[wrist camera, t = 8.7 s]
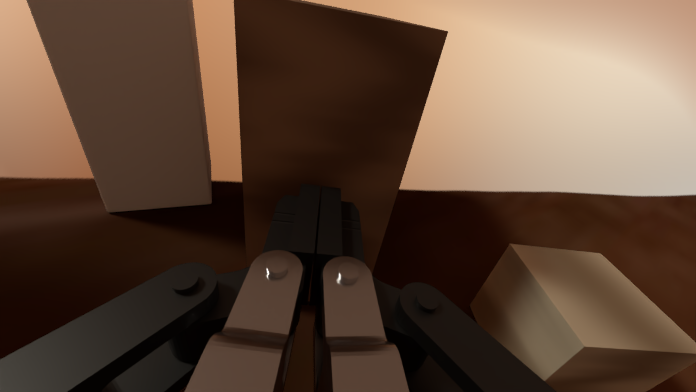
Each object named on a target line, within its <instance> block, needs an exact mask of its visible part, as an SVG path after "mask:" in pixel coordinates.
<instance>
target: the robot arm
mask: <svg viewBox="0 0 696 392" xmlns="http://www.w3.org/2000/svg"><path fill="white" fill-rule="evenodd" d="M319 195H320V186H318V185H310V184H302V183H301V187H300V192H299V196H291V195H285V196H284V197H283V198H281V199H280V200H279V201H278V202H277V205H276V208H275V212H274V215H273V218H272V222H271V225H270V228H269V232H268V235H267V238H266V242H265V245H264V248H263V252H262V254H261V255H260V256H258V257H257V258H256V259H255V260H254V261H253V263H252V264H251V266H249V267H247V268H245V269H242V270H239V271H235V272H229V273H224V274H218V275H216V273H215V271H214V270H213V269H212V268H211V267H210V266H208V265H205V264H202V263H185V264H181V265H178V266H175V267H173V268H171V269H169V270H167V271H165V272H163V273H161V274H159V275H158V276H156V277H154V278H152V279H150V280H148V281H146V282H144V283H143V284H141V285H139V286H137V287H135V288H133V289H131V290H129V291H128V292H126V293H124V294H122V295H120V296H118V297H116V298H114V299H113V300H111V301H109V302H107V303H105V304H103V305H101V306H99V307H98V308H96V309H94V310H92V311H90V312H88V313H86V314H84V315H83V316H81V317H79V318H77V319H75V320H73V321H71V322H69V323H68V324H66V325H64V326H62V327H60V328H58V329H56V330H54V331H53V332H51V333H49V334H47V335H45V336H43V337H41V338H39V339H38V340H36V341H34V342H32V343H30V344H28V345H26V346H24V347H23V348H21V349H19V350H17V351H15V352H13V353H11V354H9V355H8V356H6V357H4V358H2V359H0V392H179V391H180V390H181V389H183V388H184V387H185V386H186V385H187V384H188V385H187V388H186V390H185V392H283V391H284V386H285V381H286V376H287V371H288V366H289V361H290V356H291V352H292V347H293V342H294V337H295V332H296V326H297V325H298V322H299V319H300V310H301V305H307V302H308V295H309V288H310V281H311V291H310V302H309V305H315V306H316V313H315V322H314V328H313V361H314V392H556V391H555V390H554V389H553V388H552V387H551V386H549V385H548V384H547V383H546V382H545V381H544V380H542V379H541V378H540V377H539V376H538V375H537V374H535V373H534V372H533V371H532V370H531V369H530V368H528V367H527V366H526V365H525V364H524V363H523V362H522V361H520V360H519V359H518V358H517V357H516V356H515V355H513V354H512V353H511V352H510V351H509V350H508V349H506V348H505V347H504V346H503V345H502V344H501V343H499V342H498V341H497V340H496V339H495V338H494V337H492V336H491V335H490V334H489V333H488V332H487V331H485V330H484V329H483V328H482V327H481V326H480V325H478V324H477V323H476V322H475V321H474V320H473V319H471V318H470V317H469V316H468V315H467V314H466V313H464V312H463V311H462V310H461V309H460V308H459V307H457V306H456V305H455V304H454V303H453V302H452V301H450V300H449V299H448V298H447V297H446V296H445V295H443V294H442V293H441V292H440V291H439V290H437V289H436V288H434V287H433V286H430V285H428V284H425V283H420V282H414V283H410V284H407V285H406V286H405V287H403V289H402V290H401V289H399V288H396V287H393V286H390V285H388V284H385V283H383V282H381V281H379V280H378V279H376V278H375V277H374V276H373V275H372V274H371V272H370V270H369V268H368V267H367V266H366V265H365V260H364V251H363V242H362V233H361V224H360V215H359V211H358V209H357V208H356V206H355V205H354V204H353V203H352V202H344V201H341V188H335V187H327V186H322V188H321V196H320V203H319ZM318 206H319V210H318ZM317 217H318V218H317ZM312 266H313V269H312ZM311 274H312V280H311Z"/></svg>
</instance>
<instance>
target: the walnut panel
mask: <svg viewBox="0 0 696 392" xmlns="http://www.w3.org/2000/svg"><path fill="white" fill-rule="evenodd" d="M234 12H235V13H234V14H235V34H236V54H237V75H238V95H239V96H238V97H239V118H240V136H241V137H240V139H241V159H242V181H243V202H244V223H245V243H246V264H247V267H249V266H251V264H252V263H253V261H254V260H255V259H256V258H257V257H258V256H260V255H261V254H262V252H263V248H264V245H265V242H266V238H267V235H268V232H269V228H270V225H271V222H272V218H273V215H274V212H275V208H276V205H277V202H278V201H279V200H280V199H281V198H283V197H284V196H285V195H291V196H299V192H300V187H301V183H302V184H310V185H318V186H320V195H319V203H320V196H321V188H322V186H327V187H335V188H341V201H344V202H352V203H353V204H354V205H355V206H356V208H357V209H358V211H359V215H360V224H361V233H362V242H363V251H364V260H365V265H366V266H367V267H368V268H369V270H370V272H371V274H372V273H373V270H374V267H375V263H376V260H377V257H378V254H379V251H380V247H381V244H382V241H383V238H384V235H385V231H386V228H387V225H388V222H389V219H390V215H391V212H392V209H393V206H394V203H395V199H396V196H397V193H398V190H399V187H400V183H401V180H402V177H403V174H404V171H405V168H406V164H407V161H408V158H409V155H410V152H411V148H412V145H413V142H414V138H415V135H416V132H417V129H418V126H419V123H420V120H421V116H422V113H423V110H424V106H425V104H426V100H427V97H428V94H429V91H430V88H431V84H432V81H433V78H434V75H435V72H436V68H437V65H438V62H439V59H440V55H441V52H442V49H443V46H444V43H445V40H446V37H447V33H448V31H443V30H439V29H435V28H430V27H426V26H422V25H417V24H412V23H408V22H404V21H400V20H395V19H391V18H387V17H382V16H377V15H372V14H367V13H362V12H357V11H352V10H347V9H341V8H337V7H332V6H327V5H322V4H316V3H311V2H307V1H301V0H234ZM318 210H319V206H318ZM317 218H318V217H317ZM312 269H313V266H312ZM311 280H312V274H311ZM310 291H311V281H310V288H309V295H308V301H310Z"/></svg>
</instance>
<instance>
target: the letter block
mask: <svg viewBox="0 0 696 392" xmlns="http://www.w3.org/2000/svg"><path fill="white" fill-rule="evenodd" d="M470 308H471V310H472V312H473V314H474V317H475V319H476V321H477V323H478V325H480V326H481V327H482V328H483V329H484V330H485V331H487V332H488V333H489V334H490V335H491V336H492V337H494V338H495V339H496V340H497V341H498V342H499V343H501V344H502V345H503V346H504V347H505V348H506V349H508V350H509V351H510V352H511V353H512V354H513V355H515V356H516V357H517V358H518V359H519V360H520V361H522V362H523V363H524V364H525V365H526V366H527V367H528V368H530V369H531V370H532V371H533V372H534V373H535V374H537V375H538V376H539V377H540V378H541V379H542V380H544V381H545V382H546V383H547V384H548V385H549V386H551V387H552V388H553V389H554V390H555V391H556V392H646V391H648V390H650V389H651V388H653V387H655V386H656V385H658V384H660V383H661V382H663V381H665V380H666V379H668V378H670V377H671V376H673V375H675V374H676V373H678V372H680V371H681V370H683V369H685V368H686V367H688V366H690V365H691V364H693V363H695V362H696V343H695V342H694V341H693V340H692V339H691V338H690V337H689V336H688V335H687V334H686V333H685V332H684V331H683V330H681V329H680V328H679V327H678V326H677V325H676V324H675V323H674V322H673V321H672V320H671V319H670V318H669V317H668V316H667V315H666V314H664V313H663V312H662V311H661V310H660V309H659V308H658V307H657V306H656V305H655V304H654V303H653V302H652V301H651V300H650V299H648V298H647V297H646V296H645V295H644V294H643V293H642V292H641V291H640V290H639V289H638V288H637V287H636V286H635V285H634V284H633V283H631V282H630V281H629V280H628V279H627V278H626V277H625V276H624V275H623V274H622V273H621V272H620V271H619V270H618V269H617V268H615V267H614V266H613V265H612V264H611V263H610V262H609V261H608V260H607V259H606V258H605V257H604V256H603V255H602V254H600V253H591V252H582V251H572V250H563V249H554V248H545V247H535V246H526V245H517V244H509V246H508V247H507V249H506V250H505V252H504V254H503V255H502V257H501V258H500V260H499V261H498V263H497V264H496V266H495V267H494V269H493V270H492V272H491V273H490V275H489V277H488V278H487V280H486V281H485V283H484V284H483V286H482V287H481V289H480V290H479V292H478V293H477V295H476V296H475V298H474V300H473V301H472V303H471V304H470Z"/></svg>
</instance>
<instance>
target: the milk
mask: <svg viewBox="0 0 696 392" xmlns="http://www.w3.org/2000/svg"><path fill="white" fill-rule="evenodd" d="M27 3H28V5H29V8H30V10H31V13H32V16H33V18H34V21H35V24H36V26H37V29H38V32H39V34H40V37H41V39H42V42H43V45H44V47H45V50H46V52H47V55H48V58H49V60H50V63H51V66H52V68H53V71H54V73H55V76H56V79H57V81H58V84H59V87H60V89H61V92H62V95H63V97H64V100H65V102H66V105H67V108H68V110H69V113H70V116H71V118H72V121H73V123H74V126H75V129H76V131H77V134H78V137H79V139H80V142H81V144H82V147H83V150H84V152H85V155H86V158H87V160H88V163H89V165H90V168H91V171H92V173H93V176H94V179H95V181H96V184H97V187H98V189H99V192H100V194H101V197H102V200H103V202H104V205H105V208H106V210H107V212H122V211H134V210H146V209H158V208H170V207H182V206H194V205H205V204H211V203H212V188H211V160H210V151H209V142H208V134H207V125H206V116H205V107H204V99H203V91H202V82H201V72H200V63H199V55H198V46H197V37H196V29H195V20H194V11H193V2H192V0H27Z"/></svg>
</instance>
